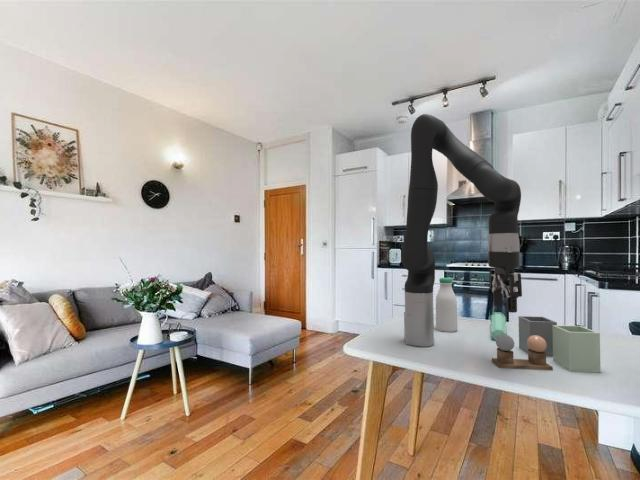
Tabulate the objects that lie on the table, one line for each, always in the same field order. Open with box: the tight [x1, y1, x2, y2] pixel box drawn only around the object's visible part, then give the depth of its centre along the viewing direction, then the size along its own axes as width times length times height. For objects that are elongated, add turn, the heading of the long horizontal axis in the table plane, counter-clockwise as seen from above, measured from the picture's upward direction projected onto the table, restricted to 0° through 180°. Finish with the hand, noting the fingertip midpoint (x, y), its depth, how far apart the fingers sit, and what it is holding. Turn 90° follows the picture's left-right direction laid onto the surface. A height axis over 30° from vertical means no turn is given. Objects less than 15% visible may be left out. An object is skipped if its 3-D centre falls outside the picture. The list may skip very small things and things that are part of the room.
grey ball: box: [495, 334, 515, 351], centre depth 86 cm, size 4×4×4 cm
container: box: [490, 311, 508, 341], centre depth 117 cm, size 6×6×25 cm
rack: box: [491, 347, 554, 371], centre depth 85 cm, size 13×5×4 cm, turn 81°
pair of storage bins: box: [518, 315, 602, 373], centre depth 90 cm, size 11×18×10 cm, turn 171°
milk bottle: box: [435, 277, 458, 333], centre depth 122 cm, size 8×8×20 cm
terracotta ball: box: [527, 335, 547, 352], centre depth 85 cm, size 4×4×4 cm
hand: (504, 308), depth 86 cm, fingers open, 8 cm apart
